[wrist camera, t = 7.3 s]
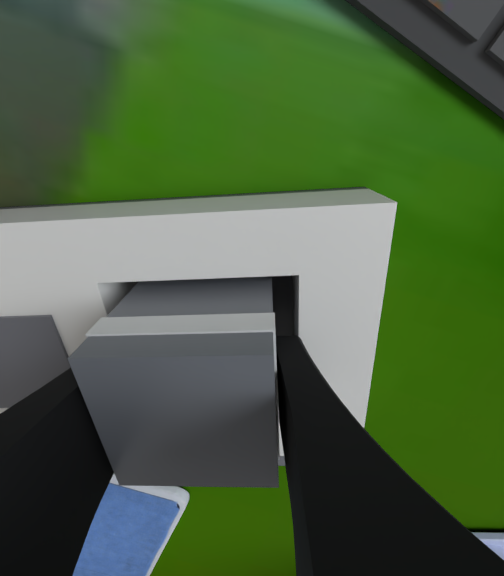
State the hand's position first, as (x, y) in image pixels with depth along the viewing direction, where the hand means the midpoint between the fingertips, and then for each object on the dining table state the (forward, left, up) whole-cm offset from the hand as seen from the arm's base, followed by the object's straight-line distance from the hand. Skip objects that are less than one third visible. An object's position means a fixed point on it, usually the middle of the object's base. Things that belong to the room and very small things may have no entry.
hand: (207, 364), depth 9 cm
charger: (0, 0, -2) cm, 2 cm away
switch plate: (0, +2, -3) cm, 3 cm away
